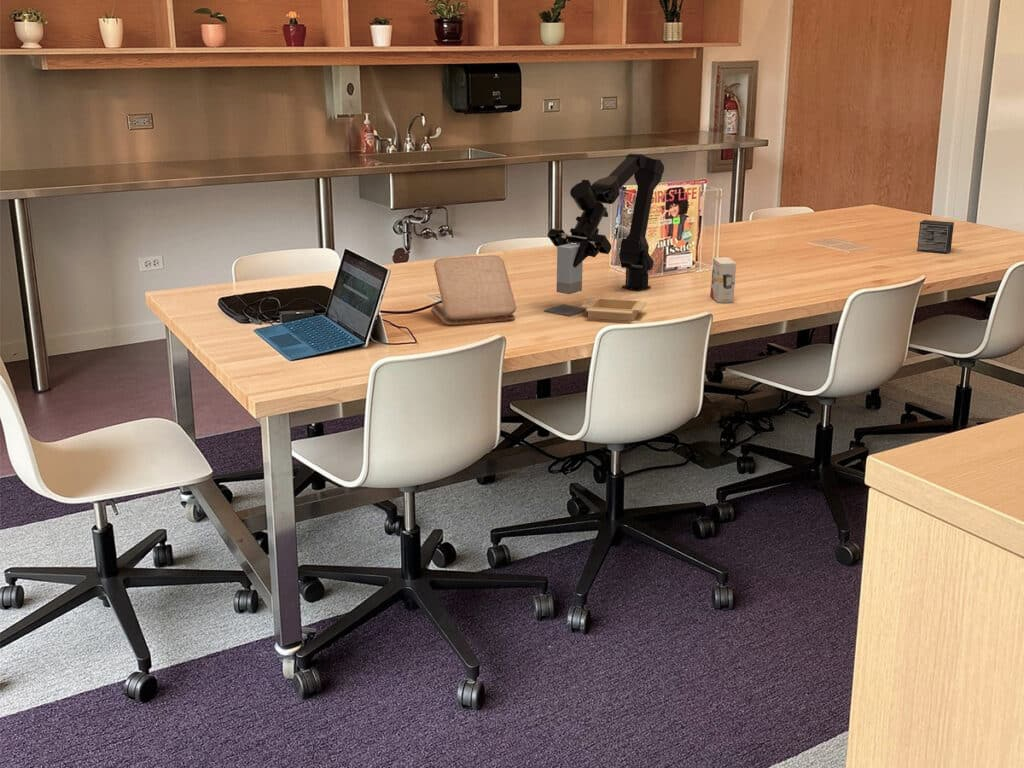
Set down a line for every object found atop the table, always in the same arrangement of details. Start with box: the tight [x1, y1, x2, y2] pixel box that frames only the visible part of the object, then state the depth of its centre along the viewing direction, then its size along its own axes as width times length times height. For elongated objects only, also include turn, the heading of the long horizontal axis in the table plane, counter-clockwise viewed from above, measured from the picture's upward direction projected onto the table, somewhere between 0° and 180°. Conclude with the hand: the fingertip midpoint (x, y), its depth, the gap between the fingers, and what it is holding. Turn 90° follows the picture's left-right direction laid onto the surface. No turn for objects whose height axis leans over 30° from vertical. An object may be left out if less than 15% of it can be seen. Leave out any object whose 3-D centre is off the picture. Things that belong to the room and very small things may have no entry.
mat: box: [543, 303, 587, 317], centre depth 317 cm, size 9×9×1 cm
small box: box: [916, 219, 955, 255], centre depth 394 cm, size 11×6×10 cm, turn 58°
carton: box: [581, 297, 648, 322], centre depth 313 cm, size 18×17×3 cm
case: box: [431, 254, 517, 326], centre depth 311 cm, size 20×21×16 cm
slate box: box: [556, 243, 584, 295], centre depth 313 cm, size 6×4×13 cm
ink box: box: [709, 256, 737, 304], centre depth 327 cm, size 9×5×12 cm, turn 6°
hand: (566, 265), depth 312 cm, fingers closed on slate box, 4 cm apart
